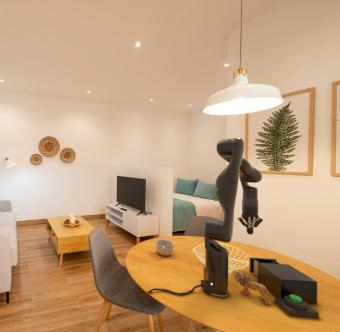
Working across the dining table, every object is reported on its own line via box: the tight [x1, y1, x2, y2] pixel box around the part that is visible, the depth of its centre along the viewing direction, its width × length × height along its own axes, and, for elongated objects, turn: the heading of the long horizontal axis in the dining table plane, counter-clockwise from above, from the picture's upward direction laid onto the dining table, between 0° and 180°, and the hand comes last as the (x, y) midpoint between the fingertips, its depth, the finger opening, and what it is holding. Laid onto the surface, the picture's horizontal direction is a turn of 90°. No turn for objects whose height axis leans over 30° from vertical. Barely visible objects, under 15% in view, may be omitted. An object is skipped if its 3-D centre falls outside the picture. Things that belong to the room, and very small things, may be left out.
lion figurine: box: [234, 270, 276, 305], centre depth 95 cm, size 15×5×9 cm, turn 39°
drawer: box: [248, 257, 282, 278], centre depth 109 cm, size 19×12×8 cm, turn 172°
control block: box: [274, 295, 320, 319], centre depth 86 cm, size 10×8×4 cm
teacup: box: [155, 238, 175, 257], centre depth 138 cm, size 14×11×8 cm
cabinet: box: [257, 263, 318, 305], centre depth 98 cm, size 16×14×10 cm
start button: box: [290, 294, 302, 304], centre depth 86 cm, size 4×4×2 cm
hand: (249, 234), depth 125 cm, fingers closed
